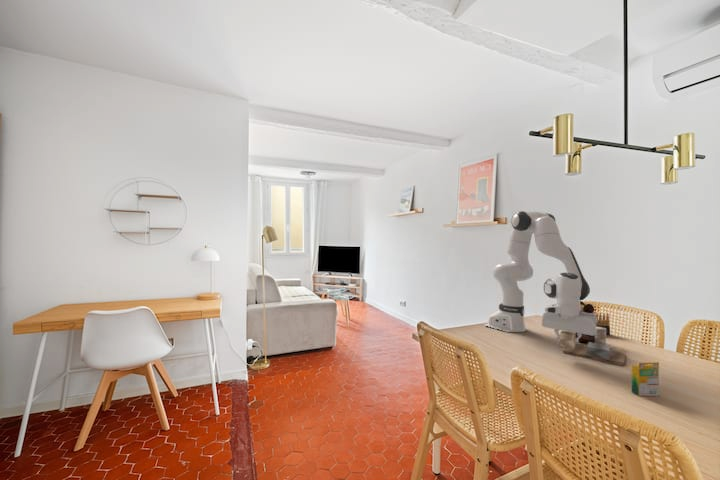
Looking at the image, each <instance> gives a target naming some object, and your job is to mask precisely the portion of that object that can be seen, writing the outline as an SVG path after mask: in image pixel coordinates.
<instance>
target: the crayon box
mask: <svg viewBox="0 0 720 480" xmlns="http://www.w3.org/2000/svg"><path fill="white" fill-rule="evenodd" d="M659 368H660V363H659V362H658V361H657V362H638V364H631V393H632V394H634V395H636V396H638V397H649V396H650V397H658V396H660V393H659V392H660V390H659V389H660V388H659V386H660V383H659V381H660V378H659V377H660V376H659V375H660V372H659V371H660V370H659Z"/></svg>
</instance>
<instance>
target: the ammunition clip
mask: <svg viewBox="0 0 720 480" xmlns="http://www.w3.org/2000/svg"><path fill="white" fill-rule="evenodd" d="M593 314H594V315H596V316H597V318H598V321H597V324H596V327H603V328H606V336H611V326H610V316H609V313H606V314H605V313H603V314H602V313H600V312H599V314H598V312H596V313H594V312H593ZM594 315H593V316H594Z"/></svg>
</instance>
